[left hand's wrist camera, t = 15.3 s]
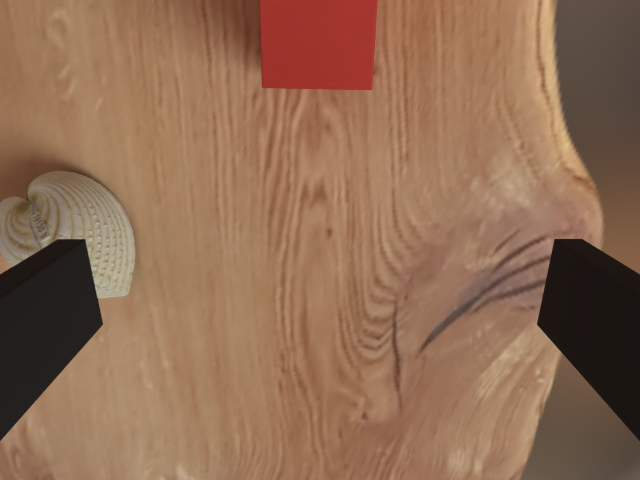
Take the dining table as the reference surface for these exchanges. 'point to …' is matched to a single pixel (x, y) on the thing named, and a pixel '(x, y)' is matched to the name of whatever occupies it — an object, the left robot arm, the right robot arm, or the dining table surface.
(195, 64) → the dining table surface
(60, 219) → the seashell
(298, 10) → the brick
